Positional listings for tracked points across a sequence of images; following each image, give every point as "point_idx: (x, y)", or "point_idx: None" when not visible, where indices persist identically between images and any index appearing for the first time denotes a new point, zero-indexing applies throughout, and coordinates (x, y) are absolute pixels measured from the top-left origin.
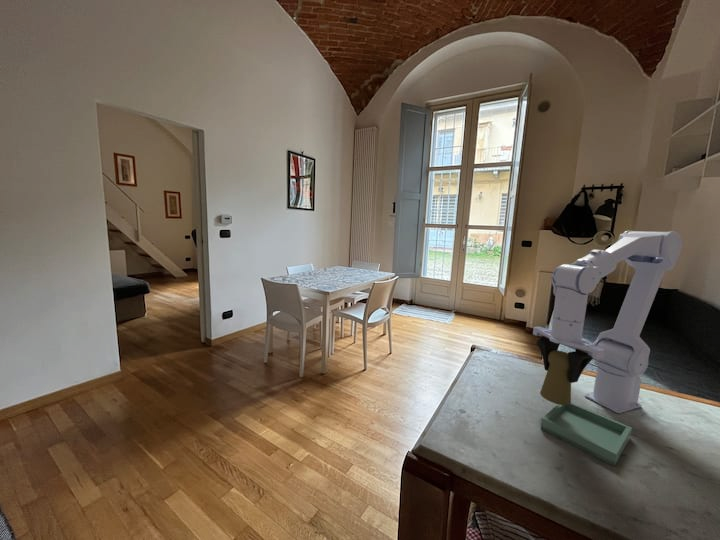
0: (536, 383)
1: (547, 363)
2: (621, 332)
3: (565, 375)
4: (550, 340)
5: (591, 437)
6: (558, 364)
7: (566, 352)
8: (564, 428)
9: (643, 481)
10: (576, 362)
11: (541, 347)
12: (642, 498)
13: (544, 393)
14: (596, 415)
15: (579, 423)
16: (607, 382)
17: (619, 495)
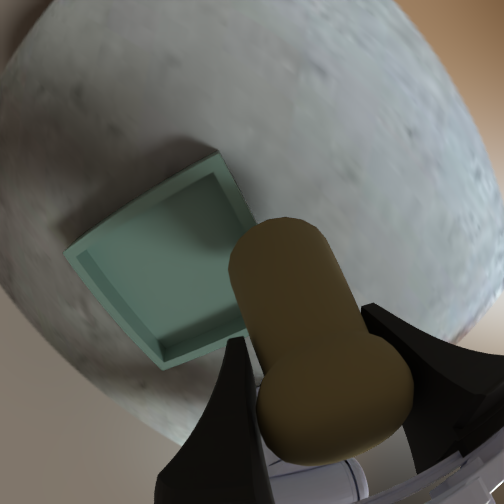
0: (397, 305)
1: (383, 330)
2: None
3: (262, 346)
4: (471, 488)
5: (152, 264)
6: (302, 362)
7: (348, 458)
8: (158, 191)
9: (47, 262)
10: (188, 453)
11: (471, 364)
12: (15, 220)
13: (293, 227)
14: (216, 339)
15: (211, 281)
16: None
17: (17, 180)
